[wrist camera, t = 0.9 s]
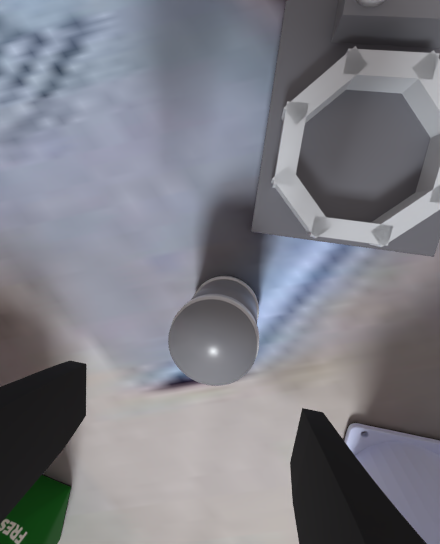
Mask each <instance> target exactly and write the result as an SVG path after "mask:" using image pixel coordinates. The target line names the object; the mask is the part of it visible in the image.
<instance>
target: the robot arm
mask: <svg viewBox="0 0 440 544" xmlns="http://www.w3.org/2000/svg"><path fill="white" fill-rule="evenodd" d="M85 416H86V364H83V363H79V362H74V361H68V362H64V363H61V364H59V365H56V366H53V367H50V368H48V369H45V370H43V371H40V372H38V373H35V374H32V375H30V376H27V377H25V378H22V379H20V380H17V381H15V382H12V383H10V384H7V385H5V386H2V387H0V524H1V522H2V521H3V520H4V519H5V518H6V517H7V515H8V514H9V513H10V512H11V511H12V509H13V508H14V507H15V506H16V505H17V503H18V502H19V501H20V500H21V499H22V498H23V496H24V495H25V494H26V493H27V492H28V490H29V489H30V488H31V487H32V486H33V484H34V483H35V482H36V481H37V480H38V479H39V477H40V476H41V475H42V474H43V473H44V471H45V470H46V469H47V468H48V467H49V465H50V464H51V463H52V462H53V461H54V459H55V458H56V457H57V456H58V455H59V453H60V452H61V451H62V450H63V448H64V447H65V446H66V444H67V443H68V441H69V440H70V439H71V437H72V436H73V434H74V433H75V431H76V430H77V428H78V427H79V425H80V424H81V422H82V421H83V419H84V417H85ZM363 431H366V432H365V433H361V432H363ZM290 465H291V482H292V496H293V506H294V513H295V519H296V525H297V532H298V538H299V544H440V440H435V439H430V438H425V437H421V436H416V435H411V434H406V433H401V432H397V431H392V430H387V429H382V428H378V427H373V426H368V425H363V424H358V423H353V424H350V425H349V427H348V430H347V433H346V437H345V440H343V439H342V438H341V436H340V435H339V434H338V432H337V431H336V430H335V428H334V427H333V425H332V424H331V423H330V421H329V420H328V419H327V417H326V416H325V415H324V413H323V412H318V411H313V410H308V409H303V408H302V412H301V417H300V421H299V426H298V430H297V435H296V439H295V444H294V448H293V453H292V457H291V462H290Z"/></svg>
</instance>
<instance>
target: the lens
mask: <svg viewBox="0 0 440 544" xmlns="http://www.w3.org/2000/svg"><path fill="white" fill-rule="evenodd" d="M258 314H259V306H258V301H257V298H256V295H255V293H254V292H253V290H252V289H251V288H250V287H249V285H248V284H246V283H245V282H244V281H242V280H241V279H239V278H236V277H233V276H218V277H214V278H211V279H209V280H207V281H206V282H204V283H203V284H202V285H201V286H200V287H199V288H198V290H197V291H196V293H195V294H194V296H193V298H192V299H191V300H190V301H189V302H188V303H186V304H185V305H184V306H183V307H182V308H181V310H180V311H179V312H178V313H177V315H176V316H175V318H174V320H173V322H172V325H171V328H170V332H169V338H168V343H169V350H170V354H171V356H172V359H173V360H174V362H175V364H176V365H177V367H178V368H179V369H180V370H181V371H182V372H183V373H184V374H185V375H186V376H188V377H189V378H191V379H193V380H195V381H197V382H199V383H202V384H206V385H212V386H219V385H226V384H230V383H233V382H235V381H237V380H239V379H240V378H242V377H243V376H244V375H245V374H246V373H247V372H248V371H249V370H250V369H251V367H252V365H253V363H254V361H255V359H256V356H257V353H258V349H259V331H258V326H257V320H258Z"/></svg>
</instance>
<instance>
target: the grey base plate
mask: <svg viewBox="0 0 440 544" xmlns="http://www.w3.org/2000/svg"><path fill="white" fill-rule="evenodd" d="M251 232H256V233H263V234H271V235H278V236H285V237H293V238H300V239H307V240H315V241H322V242H329V243H337V244H344V245H352V246H359V247H366V248H374V249H381V250H388V251H396V252H403V253H410V254H418V255H425V256H432V257H434V254H435V251H436V248H437V245H438V242H439V238H440V0H286V5H285V11H284V18H283V24H282V31H281V38H280V44H279V51H278V57H277V64H276V71H275V77H274V84H273V90H272V97H271V104H270V110H269V117H268V123H267V130H266V136H265V143H264V150H263V156H262V163H261V169H260V176H259V183H258V189H257V196H256V202H255V209H254V216H253V222H252V229H251Z"/></svg>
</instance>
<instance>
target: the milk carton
mask: <svg viewBox="0 0 440 544" xmlns="http://www.w3.org/2000/svg"><path fill="white" fill-rule="evenodd" d="M70 490H71V487H70V486H68V485H65V484H63V483H60V482H58V481H56V480H53V479H51V478H48V477H46V476H44V475H41V476H40V477H39V479H38V480H37V481H36V482H35V483H34V484H33V486H32V487H31V488H30V489H29V490H28V492H27V493H26V494H25V495H24V496H23V498H22V499H21V500H20V501H19V502H18V503H17V505H16V506H15V507H14V508H13V509H12V511H11V512H10V513H9V514H8V515H7V517H6V518H5V519H4V520H3V521H2V522H1V524H0V544H57V543H58V542H59V540H60V536H61V532H62V527H63V522H64V518H65V513H66V509H67V504H68V499H69V495H70Z"/></svg>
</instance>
